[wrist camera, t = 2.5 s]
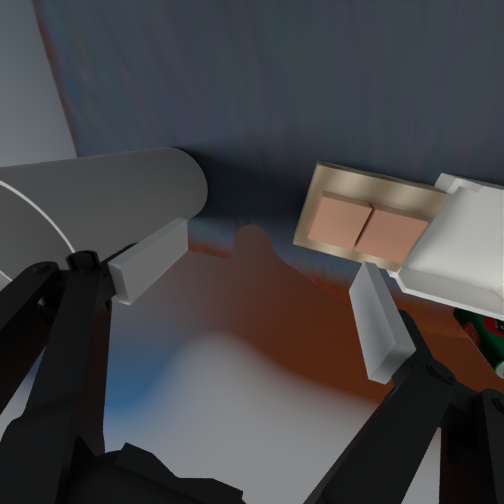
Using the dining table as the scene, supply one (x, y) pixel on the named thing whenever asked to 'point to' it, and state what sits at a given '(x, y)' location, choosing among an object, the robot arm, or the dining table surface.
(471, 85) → the dining table surface
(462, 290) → the box
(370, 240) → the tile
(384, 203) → the birch plate
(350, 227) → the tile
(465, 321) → the soda can
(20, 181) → the cylinder vase
